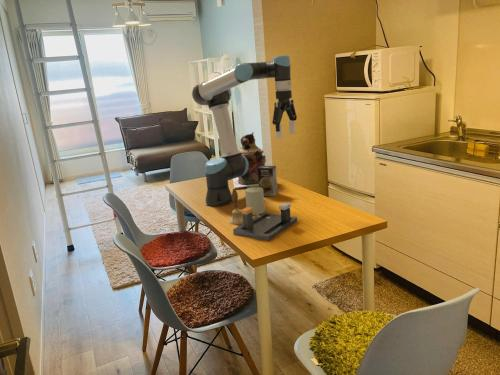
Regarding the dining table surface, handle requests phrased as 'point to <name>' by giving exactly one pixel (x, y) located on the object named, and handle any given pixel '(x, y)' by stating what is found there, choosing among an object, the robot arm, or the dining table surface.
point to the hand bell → (236, 211)
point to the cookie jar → (250, 162)
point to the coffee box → (267, 180)
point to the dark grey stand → (268, 224)
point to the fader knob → (247, 217)
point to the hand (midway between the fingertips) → (285, 136)
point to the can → (255, 199)
